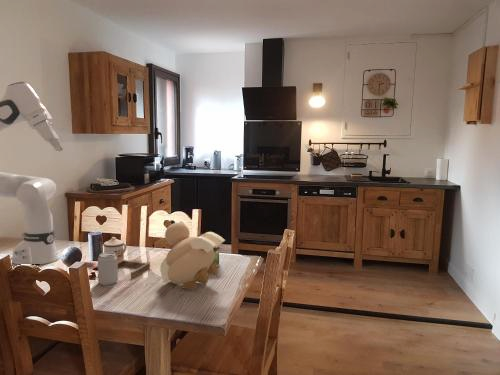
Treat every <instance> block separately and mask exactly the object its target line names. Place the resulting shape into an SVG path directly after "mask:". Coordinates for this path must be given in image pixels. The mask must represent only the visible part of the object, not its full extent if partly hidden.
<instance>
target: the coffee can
mask: <svg viewBox="0 0 500 375" xmlns="http://www.w3.org/2000/svg"><path fill="white" fill-rule="evenodd" d="M205 233H206V232H205ZM205 233H200V234H197V237H199V236H201V235H203V234H205ZM216 234H217V235H219V236H220V234H218V233H216ZM213 250H214V253H215V257H214V261H213V263H214V262H216V261H217V267H219V265H220V246H219V247H217V248H216V247H214V248H213ZM213 263H212V264H213Z"/></svg>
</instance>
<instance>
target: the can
mask: <svg viewBox="0 0 500 375" xmlns="http://www.w3.org/2000/svg"><path fill="white" fill-rule="evenodd" d="M97 274H98V275H97V278H98V279H97V280H98V283H99V284H101V285H103V286H111V285H114V284H116V283H117V281H118V280H119V269H118V262H117V256H116V254H115V253H113V252H106V253H104V252H102V253H100V254H99V256H98V258H97Z"/></svg>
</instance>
